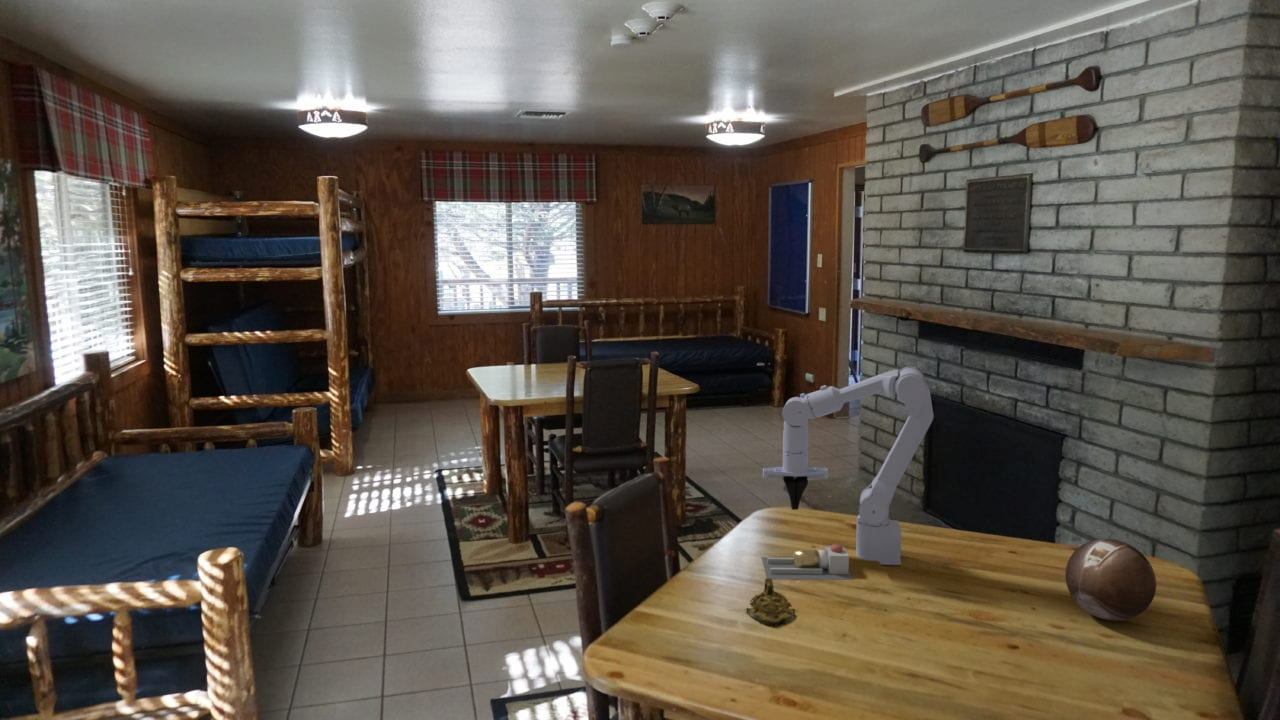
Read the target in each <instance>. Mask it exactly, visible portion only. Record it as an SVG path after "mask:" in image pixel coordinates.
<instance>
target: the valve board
mask: <svg viewBox="0 0 1280 720" xmlns="http://www.w3.org/2000/svg"><path fill="white" fill-rule="evenodd" d="M817 550H818V554H819V568H794V566H793V556H792V557H791V556H790V557H789V556H787V557H785V556H783V557H781V556H780V557H777V556H776V557H775V556H773V557H772V556H768V557H767V556H762V557H761V561H762V565H763V568H764V573H765V577H766V578H771V579H772V580H803V581H807V580H808V581H809V580H811V581H812V580H814V581H815V580H817V581H819V580H820V581H821V580H822V581H824V580H825V581H826V580H827V581H833V580H835V581H847V580H848V581H854V577H853V575H852V574H851V571H850V570H849V566H850V565H849V564H850V563H849V561H850V560H849V559H850V555H849V553H848V551H847V550H846V548H845V546H844V545H842V544H839V543H835V544H834V543H833V544H831V545H824V549H817Z"/></svg>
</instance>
